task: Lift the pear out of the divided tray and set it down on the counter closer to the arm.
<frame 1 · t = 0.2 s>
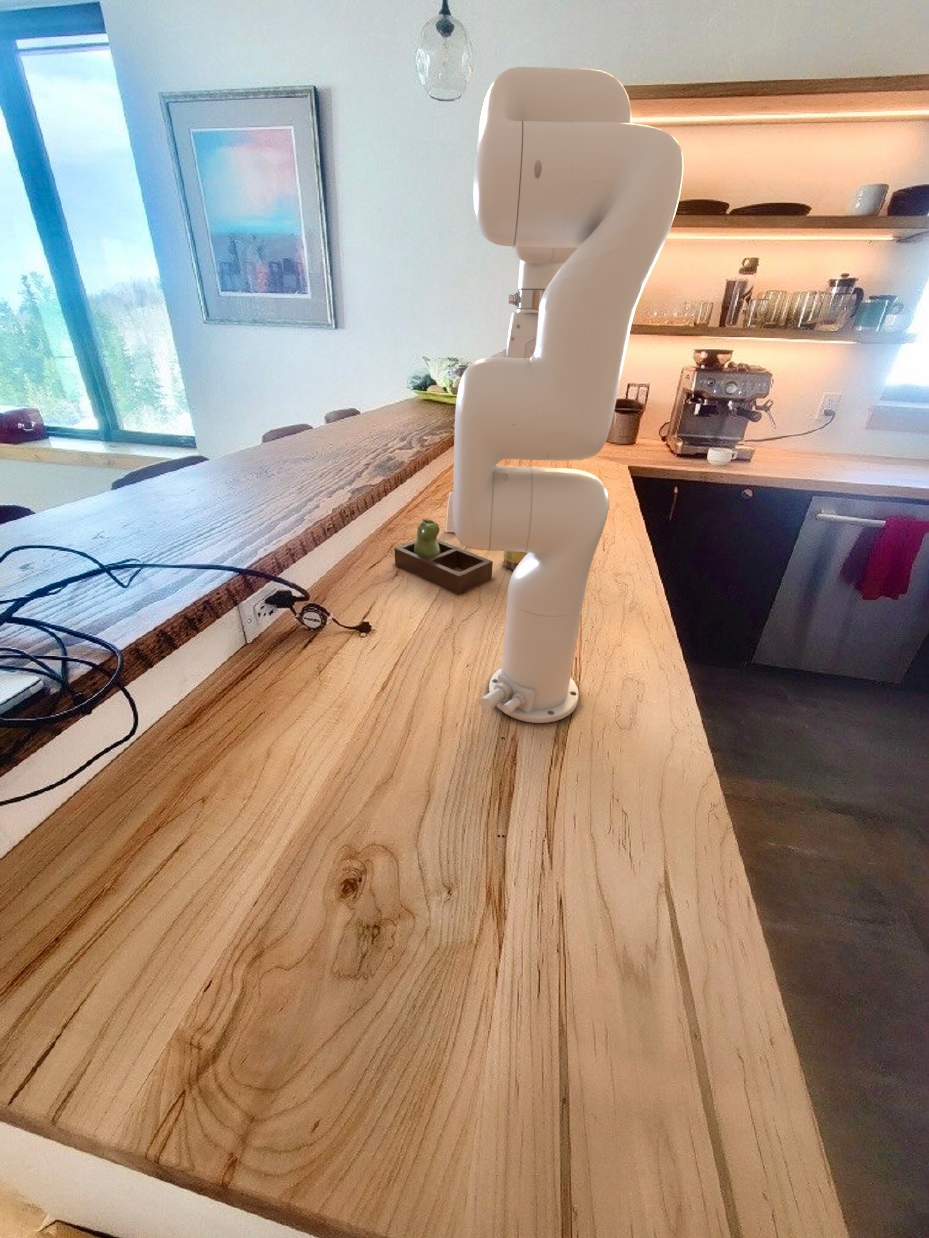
hand: (529, 411, 94), 31 cm above the worktop, tool pointing down, fingers open, 9 cm apart
pear: (427, 566, 107), resting in divided tray
sauce bottle: (517, 566, 109), on the worktop
divided tray: (442, 572, 105), on the worktop
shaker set: (470, 533, 125), on the worktop
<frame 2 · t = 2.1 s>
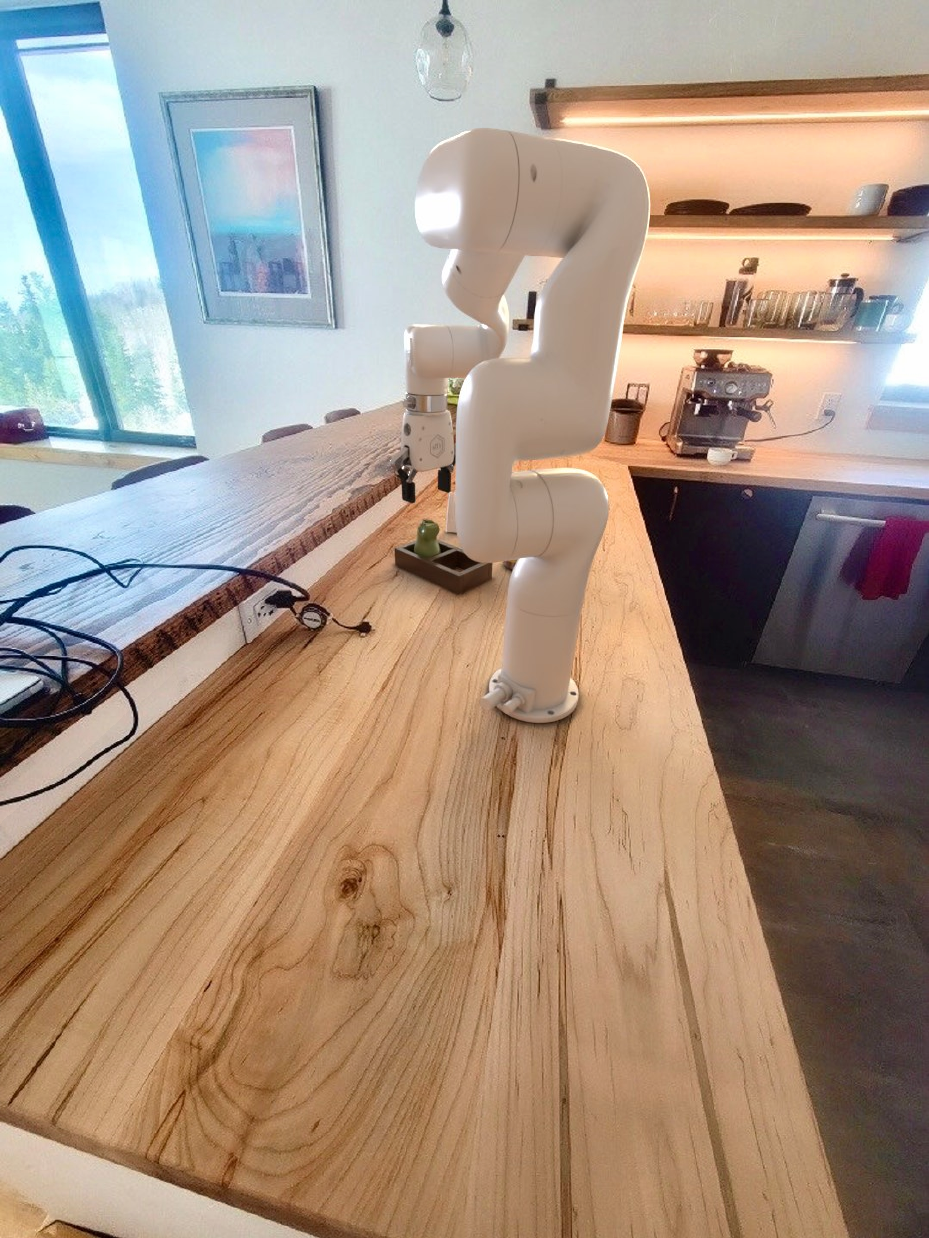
hand: (427, 496, 100), 15 cm above the worktop, tool pointing down, fingers open, 9 cm apart
nothing on the worktop moved.
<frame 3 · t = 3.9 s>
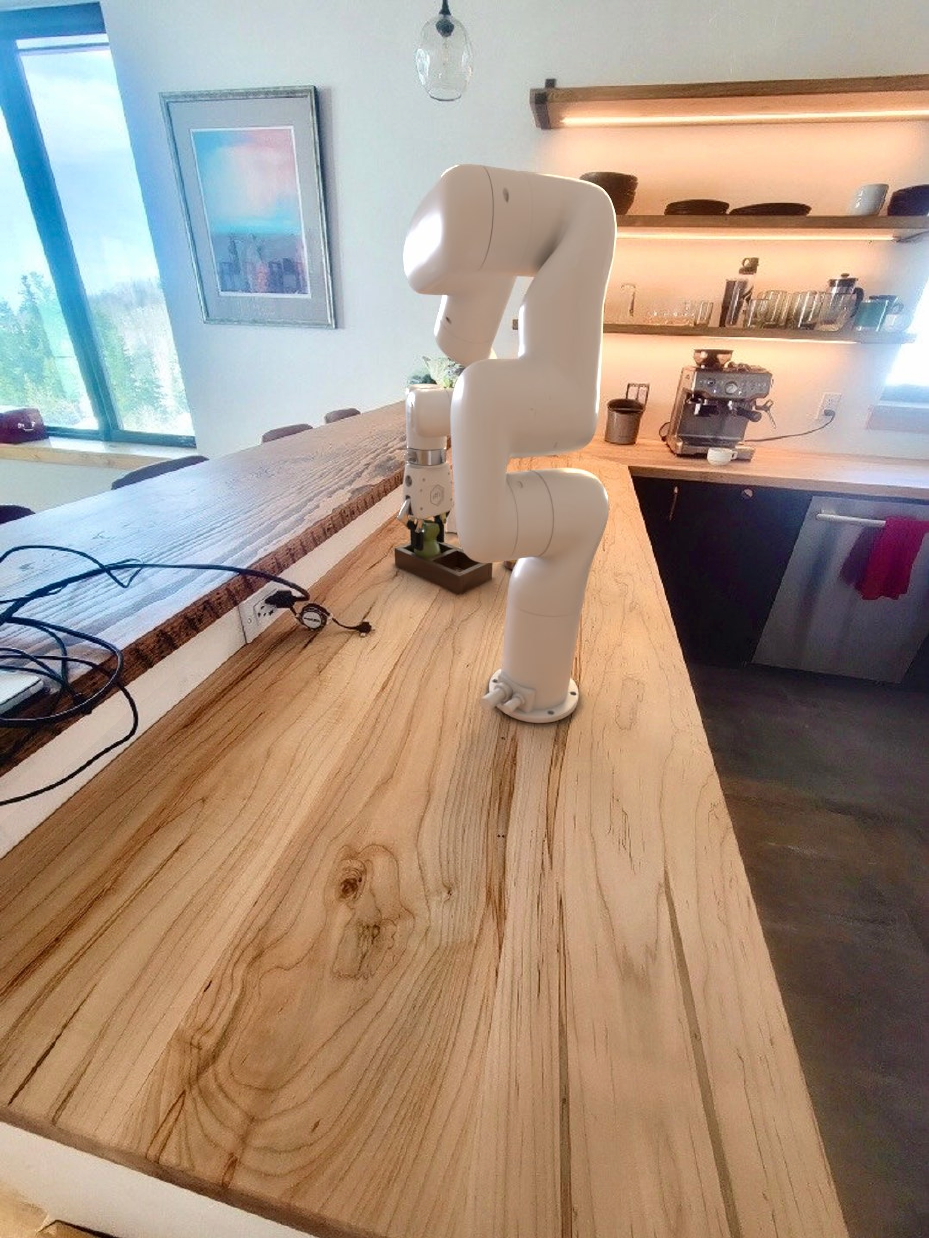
hand: (427, 544, 105), 5 cm above the worktop, tool pointing down, fingers closed on pear, 5 cm apart
pear: (427, 566, 107), resting in divided tray, touching gripper
everything else where it was.
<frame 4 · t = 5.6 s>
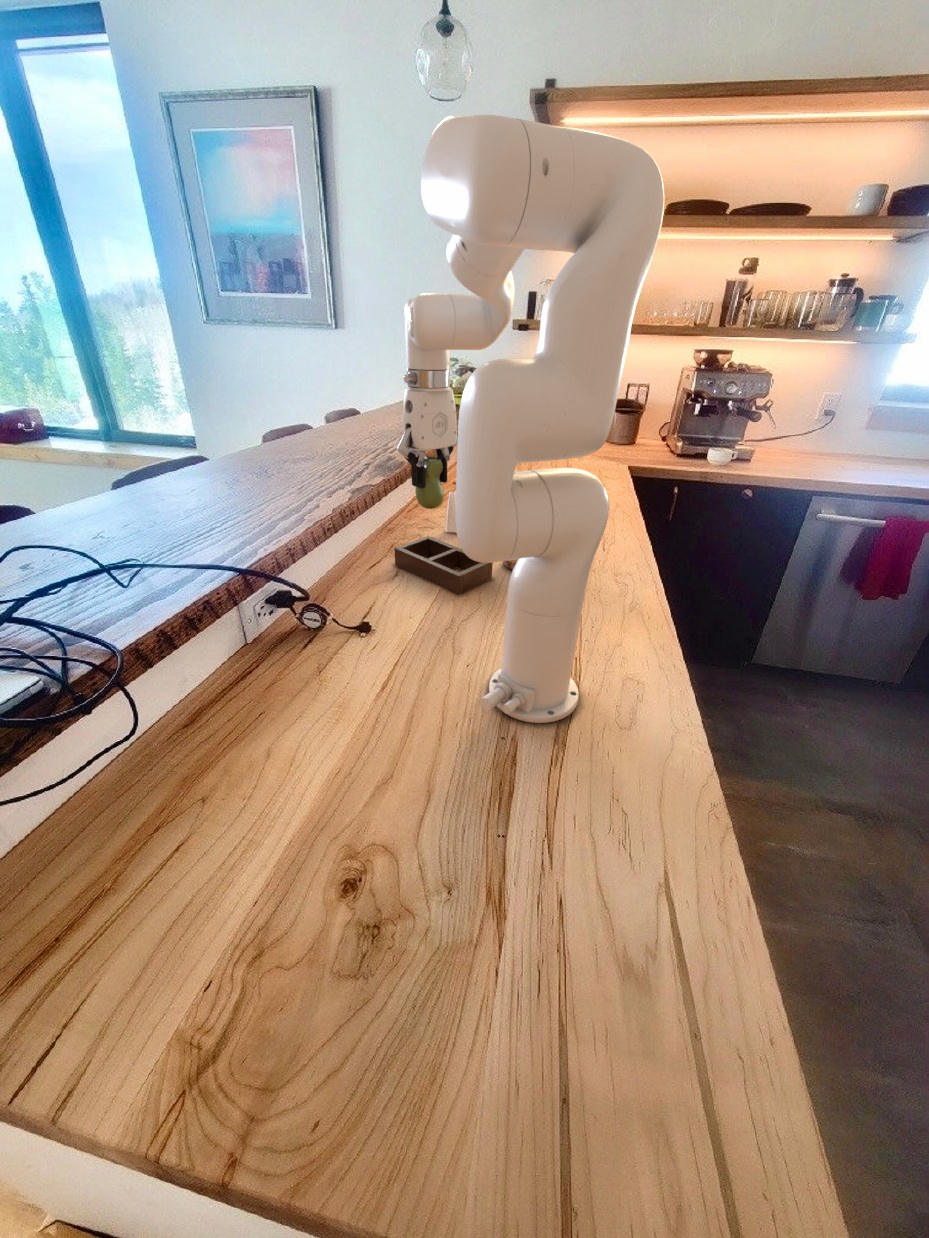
hand: (429, 483, 97), 18 cm above the worktop, tool pointing down, fingers closed on pear, 5 cm apart
pear: (430, 509, 100), point 13 cm above the worktop, touching gripper
everything else where it was.
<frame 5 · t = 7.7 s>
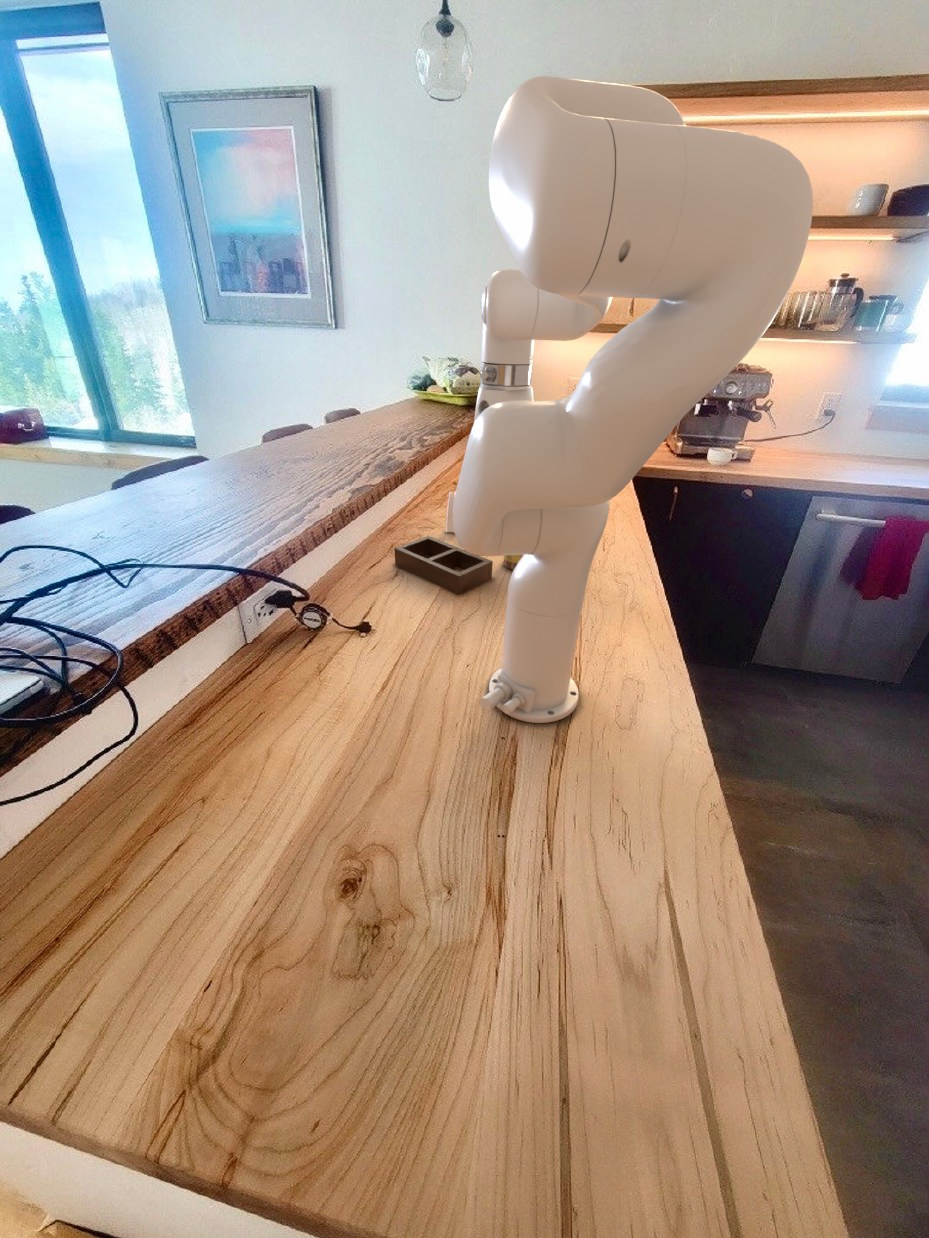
hand: (498, 496, 84), 20 cm above the worktop, tool pointing down, fingers closed on pear, 5 cm apart
pear: (496, 526, 86), point 15 cm above the worktop, touching gripper
everything else where it was.
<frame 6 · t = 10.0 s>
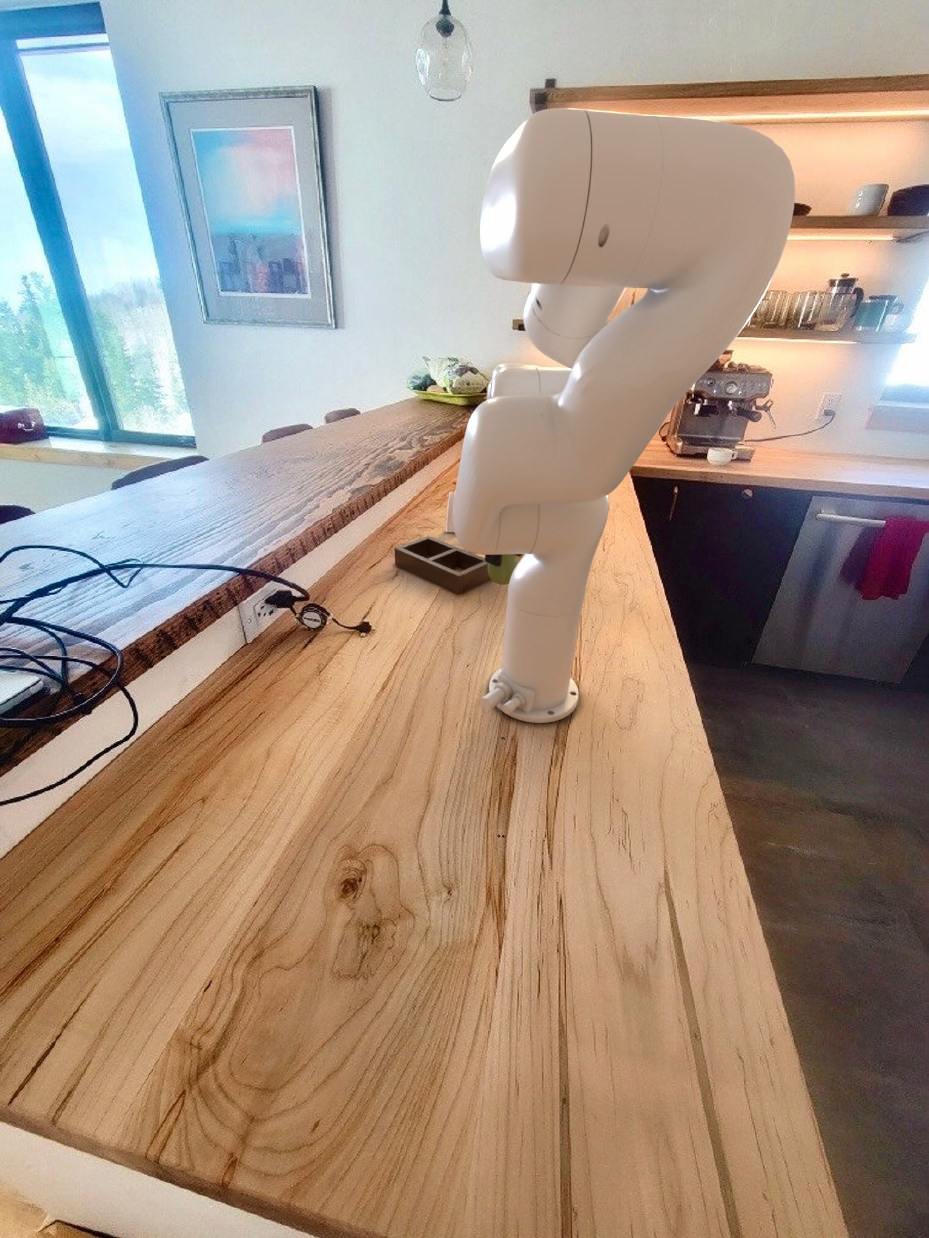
hand: (503, 557, 88), 10 cm above the worktop, tool pointing down, fingers closed on pear, 5 cm apart
pear: (502, 584, 90), point 5 cm above the worktop, touching gripper
everything else where it was.
when the fingers open (5 cm above the worktop, at t = 11.7 s): pear stays where it is, on the worktop.
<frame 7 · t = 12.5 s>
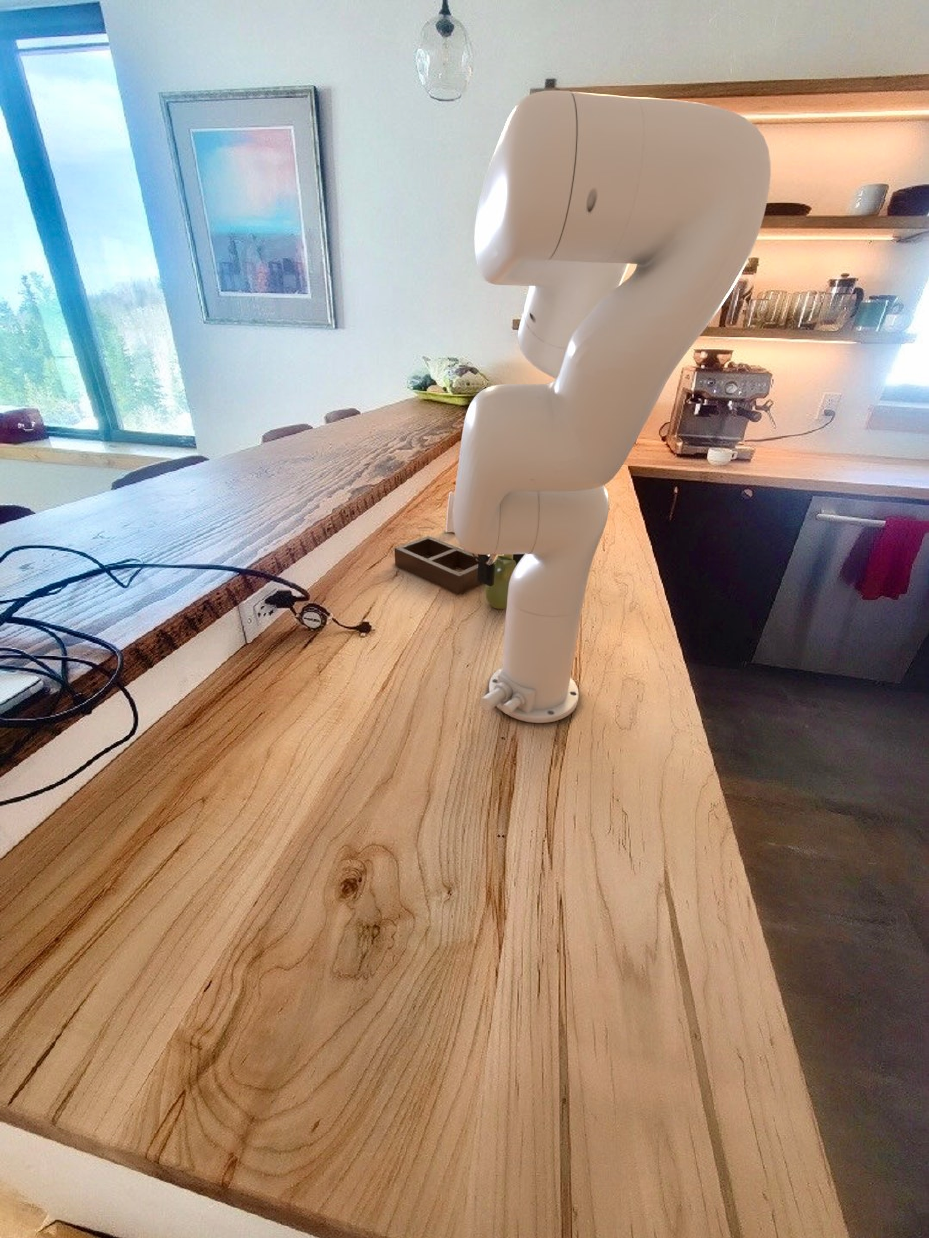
hand: (503, 575, 89), 7 cm above the worktop, tool pointing down, fingers open, 9 cm apart
pear: (500, 608, 93), on the worktop
everything else where it was.
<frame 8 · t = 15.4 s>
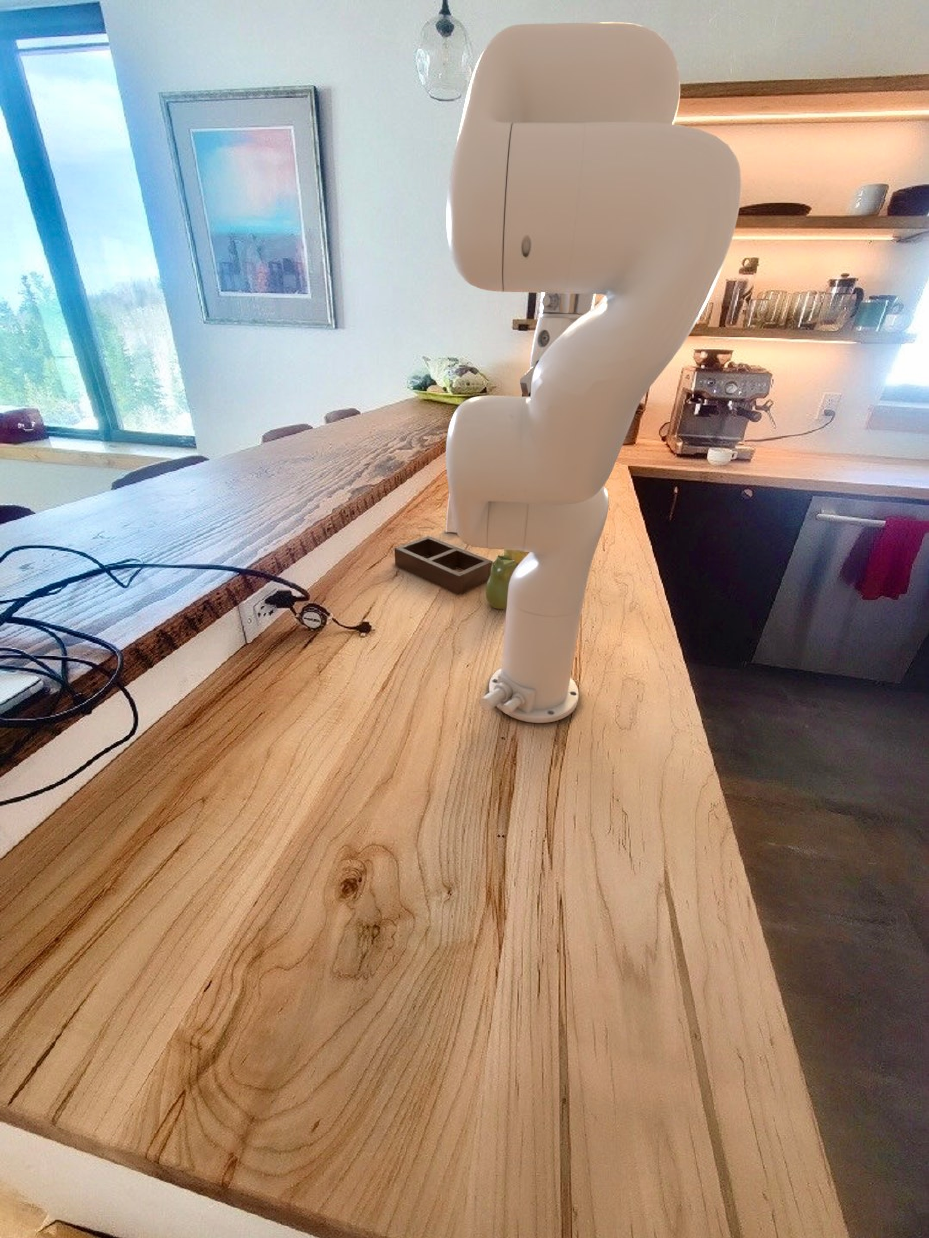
hand: (551, 434, 79), 30 cm above the worktop, tool pointing down, fingers open, 9 cm apart
nothing on the worktop moved.
at the end: pear inside the target area (0.1 cm from its centre), on the worktop; pear moved 22.4 cm from its start; the gripper is holding nothing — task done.
